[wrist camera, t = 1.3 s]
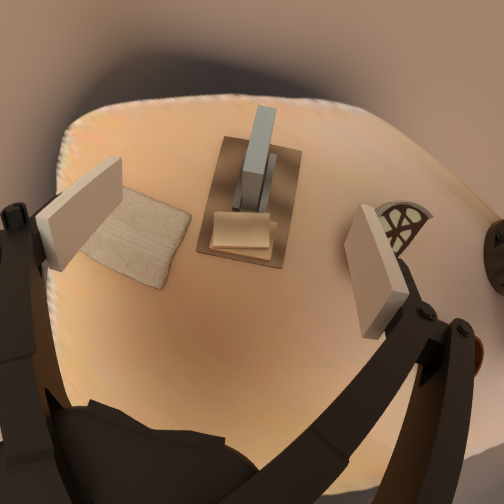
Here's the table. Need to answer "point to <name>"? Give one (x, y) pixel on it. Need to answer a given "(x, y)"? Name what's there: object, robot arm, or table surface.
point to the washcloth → (139, 238)
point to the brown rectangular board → (270, 199)
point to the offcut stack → (243, 234)
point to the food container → (401, 222)
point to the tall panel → (257, 157)
